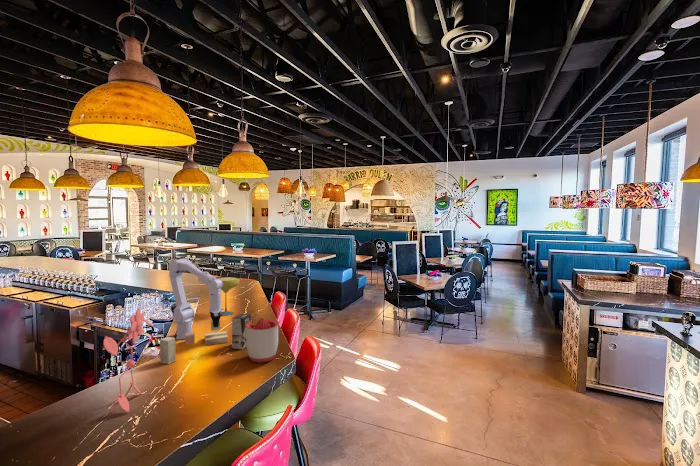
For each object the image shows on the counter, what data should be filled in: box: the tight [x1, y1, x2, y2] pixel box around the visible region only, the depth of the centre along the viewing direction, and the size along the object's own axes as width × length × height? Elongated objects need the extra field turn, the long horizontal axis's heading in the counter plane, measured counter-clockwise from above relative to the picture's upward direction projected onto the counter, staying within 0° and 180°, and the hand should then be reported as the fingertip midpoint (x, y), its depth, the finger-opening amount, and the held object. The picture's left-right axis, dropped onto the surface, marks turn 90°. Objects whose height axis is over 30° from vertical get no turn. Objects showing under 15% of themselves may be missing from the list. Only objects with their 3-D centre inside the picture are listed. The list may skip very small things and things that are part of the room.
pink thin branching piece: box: [103, 307, 153, 413], centre depth 122 cm, size 15×26×35 cm, turn 11°
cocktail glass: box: [215, 275, 240, 317], centre depth 234 cm, size 18×18×25 cm
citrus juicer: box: [246, 317, 280, 364], centre depth 163 cm, size 16×17×20 cm
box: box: [159, 336, 177, 365], centre depth 157 cm, size 5×4×11 cm
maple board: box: [204, 330, 228, 346], centre depth 184 cm, size 11×11×3 cm
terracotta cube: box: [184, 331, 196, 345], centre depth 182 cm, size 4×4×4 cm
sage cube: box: [210, 319, 221, 331], centre depth 184 cm, size 4×4×4 cm
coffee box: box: [231, 313, 252, 350], centre depth 177 cm, size 9×6×16 cm
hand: (215, 325), depth 184 cm, fingers closed on sage cube, 4 cm apart
